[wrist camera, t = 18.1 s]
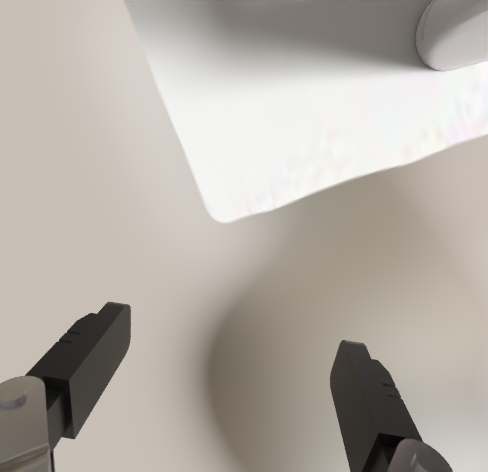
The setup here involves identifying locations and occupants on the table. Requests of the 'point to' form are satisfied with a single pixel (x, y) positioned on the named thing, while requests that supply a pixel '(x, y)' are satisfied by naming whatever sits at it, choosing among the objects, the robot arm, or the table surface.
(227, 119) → the table surface
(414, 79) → the table surface
